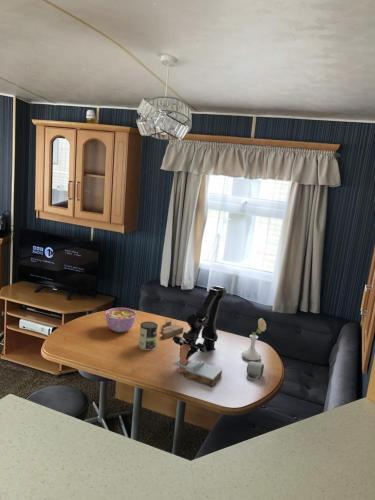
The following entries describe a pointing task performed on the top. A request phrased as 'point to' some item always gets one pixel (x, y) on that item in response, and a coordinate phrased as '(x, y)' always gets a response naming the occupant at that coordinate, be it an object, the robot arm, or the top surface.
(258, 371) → the ceramic mug
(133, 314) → the bowl of food
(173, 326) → the wooden block set
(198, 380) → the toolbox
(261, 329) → the flower in vase
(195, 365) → the lid
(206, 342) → the robot arm
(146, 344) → the coffee can
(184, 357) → the salmon brown tall block
